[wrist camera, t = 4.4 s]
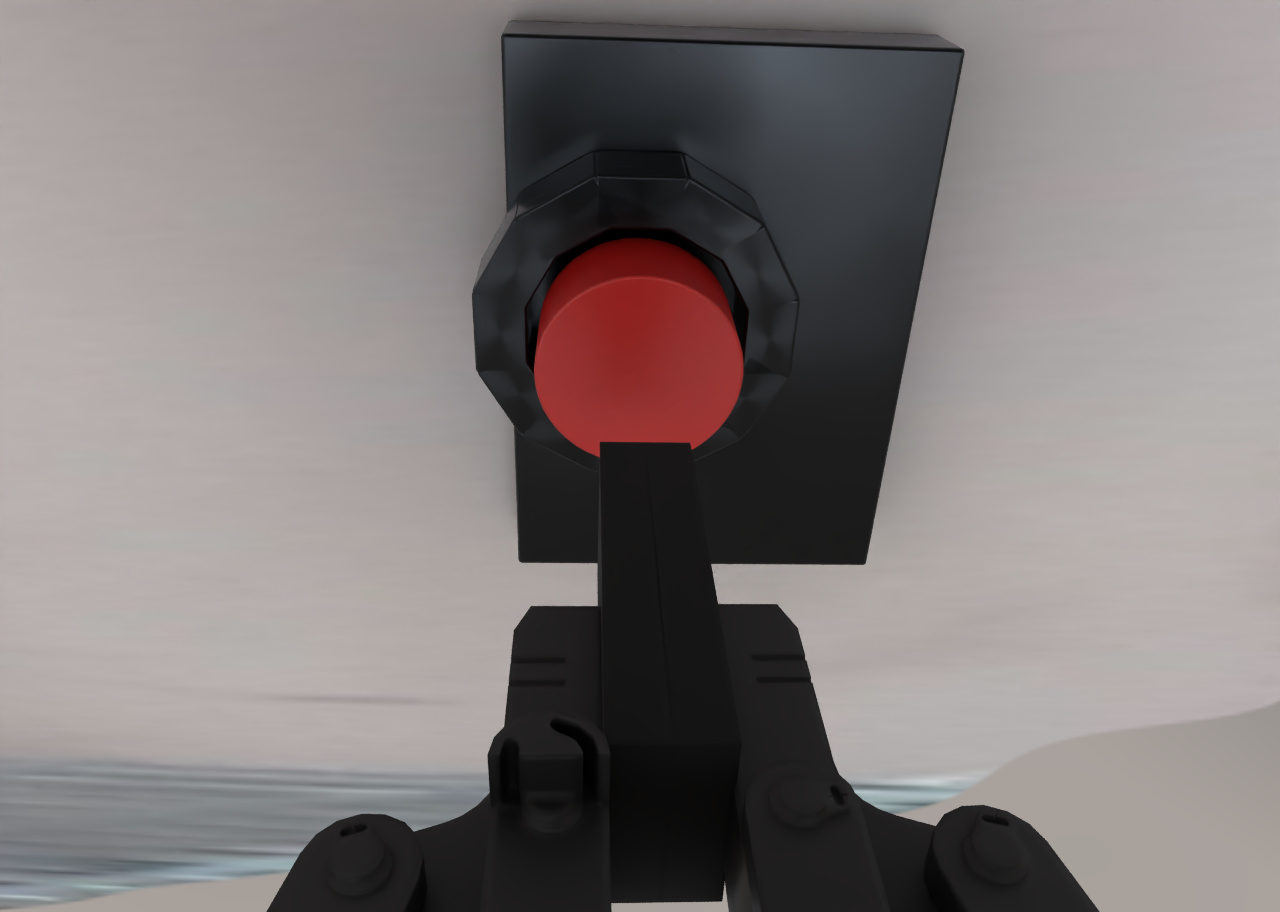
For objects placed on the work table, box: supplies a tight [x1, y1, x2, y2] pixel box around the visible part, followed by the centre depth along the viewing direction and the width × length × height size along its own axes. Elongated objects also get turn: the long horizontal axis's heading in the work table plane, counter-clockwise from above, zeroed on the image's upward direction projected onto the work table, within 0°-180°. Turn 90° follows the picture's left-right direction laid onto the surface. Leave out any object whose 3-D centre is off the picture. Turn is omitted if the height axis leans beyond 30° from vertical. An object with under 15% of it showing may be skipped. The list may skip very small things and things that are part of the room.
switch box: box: [472, 20, 964, 565], centre depth 25 cm, size 14×11×4 cm
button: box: [534, 238, 744, 457], centre depth 22 cm, size 4×4×2 cm
